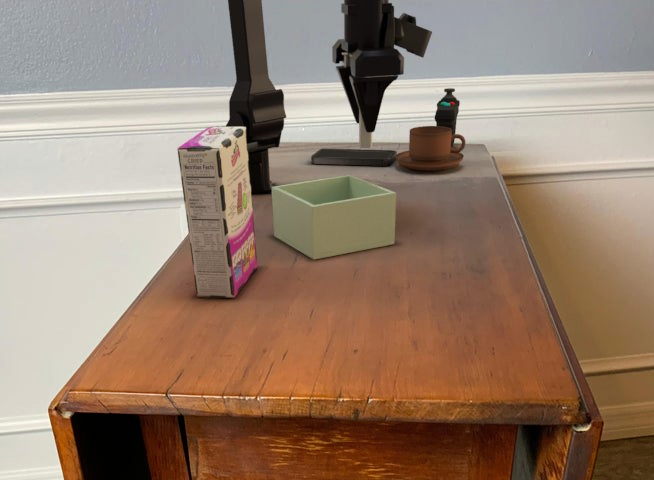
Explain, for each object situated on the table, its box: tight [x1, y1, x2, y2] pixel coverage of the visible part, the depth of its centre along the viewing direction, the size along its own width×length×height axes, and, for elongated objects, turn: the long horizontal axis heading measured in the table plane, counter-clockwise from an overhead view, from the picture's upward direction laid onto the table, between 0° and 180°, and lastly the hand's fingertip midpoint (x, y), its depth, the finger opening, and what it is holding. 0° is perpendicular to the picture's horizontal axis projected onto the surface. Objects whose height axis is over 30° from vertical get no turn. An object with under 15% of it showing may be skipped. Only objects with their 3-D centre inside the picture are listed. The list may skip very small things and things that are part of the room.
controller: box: [434, 87, 461, 148], centre depth 151 cm, size 4×12×10 cm, turn 168°
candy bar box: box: [176, 125, 258, 299], centre depth 91 cm, size 11×5×16 cm, turn 168°
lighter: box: [358, 110, 373, 149], centre depth 109 cm, size 7×2×8 cm, turn 177°
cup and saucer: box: [395, 125, 466, 172], centre depth 140 cm, size 12×12×6 cm
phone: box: [310, 148, 398, 167], centre depth 148 cm, size 8×1×15 cm
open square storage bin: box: [271, 174, 397, 261], centre depth 107 cm, size 12×12×7 cm
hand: (365, 127), depth 110 cm, fingers closed on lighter, 7 cm apart
